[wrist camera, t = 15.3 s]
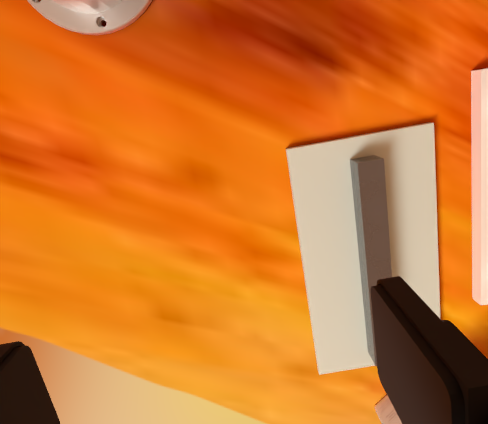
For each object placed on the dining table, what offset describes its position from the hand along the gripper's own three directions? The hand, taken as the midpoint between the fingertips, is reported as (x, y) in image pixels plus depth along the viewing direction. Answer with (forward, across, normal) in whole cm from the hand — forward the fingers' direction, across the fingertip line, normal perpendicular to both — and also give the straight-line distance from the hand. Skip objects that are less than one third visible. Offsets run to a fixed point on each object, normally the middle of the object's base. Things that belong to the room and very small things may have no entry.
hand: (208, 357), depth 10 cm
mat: (+28, -13, +12) cm, 33 cm away
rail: (+28, -13, +12) cm, 33 cm away
